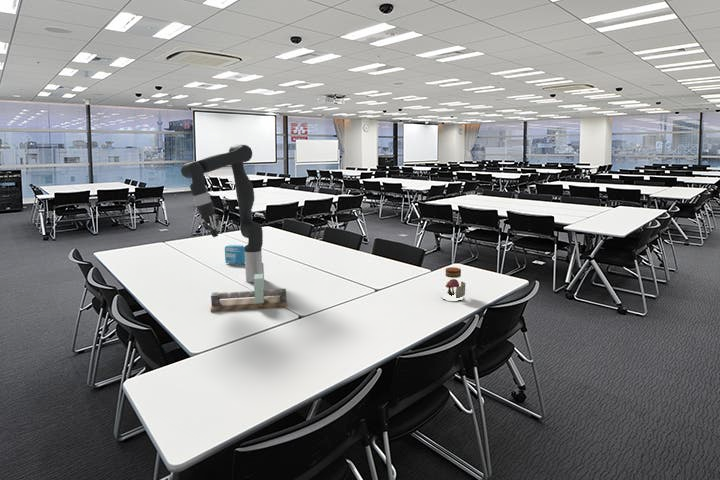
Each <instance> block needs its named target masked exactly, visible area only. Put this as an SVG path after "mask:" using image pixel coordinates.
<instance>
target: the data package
mask: <svg viewBox="0 0 720 480" xmlns="http://www.w3.org/2000/svg"><path fill="white" fill-rule="evenodd" d="M244 247H245V245H241V244H239V245H238V244H228V245H226V246H225V247H224V261H225V264H226V263H229V264H228V265H234V264H241V265H244V264H245V251H244Z"/></svg>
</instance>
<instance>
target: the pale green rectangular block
mask: <svg viewBox="0 0 720 480" xmlns="http://www.w3.org/2000/svg"><path fill="white" fill-rule="evenodd" d="M264 280H265V279H263V274H255V275H254V282H253V291H254V293H255V297H254V298H255V304H258V303H264V297H265V296H264V293H263V290H265V284H264Z"/></svg>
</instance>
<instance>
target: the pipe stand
mask: <svg viewBox="0 0 720 480" xmlns="http://www.w3.org/2000/svg"><path fill="white" fill-rule="evenodd" d="M263 293H264V303H258V304H255V293H254V290H243V291H242V290H241V291H239V290H238V291H226V292H225V291H224V292H223V291H221V292H219V291H217V292H215V291H214V292H212V293H211V295H210V299H211V300H210V301H211V307H210V312H211V313H216V312H218V311H219V312H233V311H244V310H245V311H248V310H249V311H250V310H262V309H263V310H264V309H279V308H282V309H283V308H288V307H287V306H288V303H287V288H278V289H264V290H263Z"/></svg>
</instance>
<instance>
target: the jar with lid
mask: <svg viewBox="0 0 720 480" xmlns="http://www.w3.org/2000/svg"><path fill="white" fill-rule="evenodd" d="M445 277H447V278H451V279H449V281H447V282H446V284H445V287H446V288H447V289H448V290H447V292H446V294H449V295H451V296H452V295H454V294H456V298H460V297H464V296H465V295H466V282H464V281H461V282H460V283H459V281H458V280H457V279H458V278H461V277H462V269H461V268H459V267H455V266H454V267H447V268H445ZM454 288H456V289H455V290H454Z"/></svg>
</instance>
